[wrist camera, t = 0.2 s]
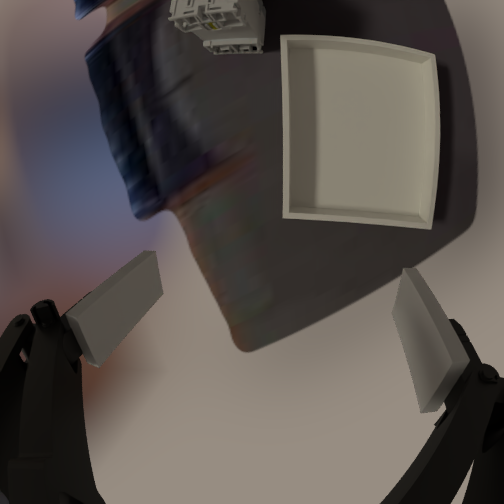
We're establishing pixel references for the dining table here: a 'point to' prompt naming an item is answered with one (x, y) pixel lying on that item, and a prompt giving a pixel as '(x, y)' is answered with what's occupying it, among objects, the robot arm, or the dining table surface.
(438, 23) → the dining table surface
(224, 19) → the circuit breaker
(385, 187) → the parts tray
